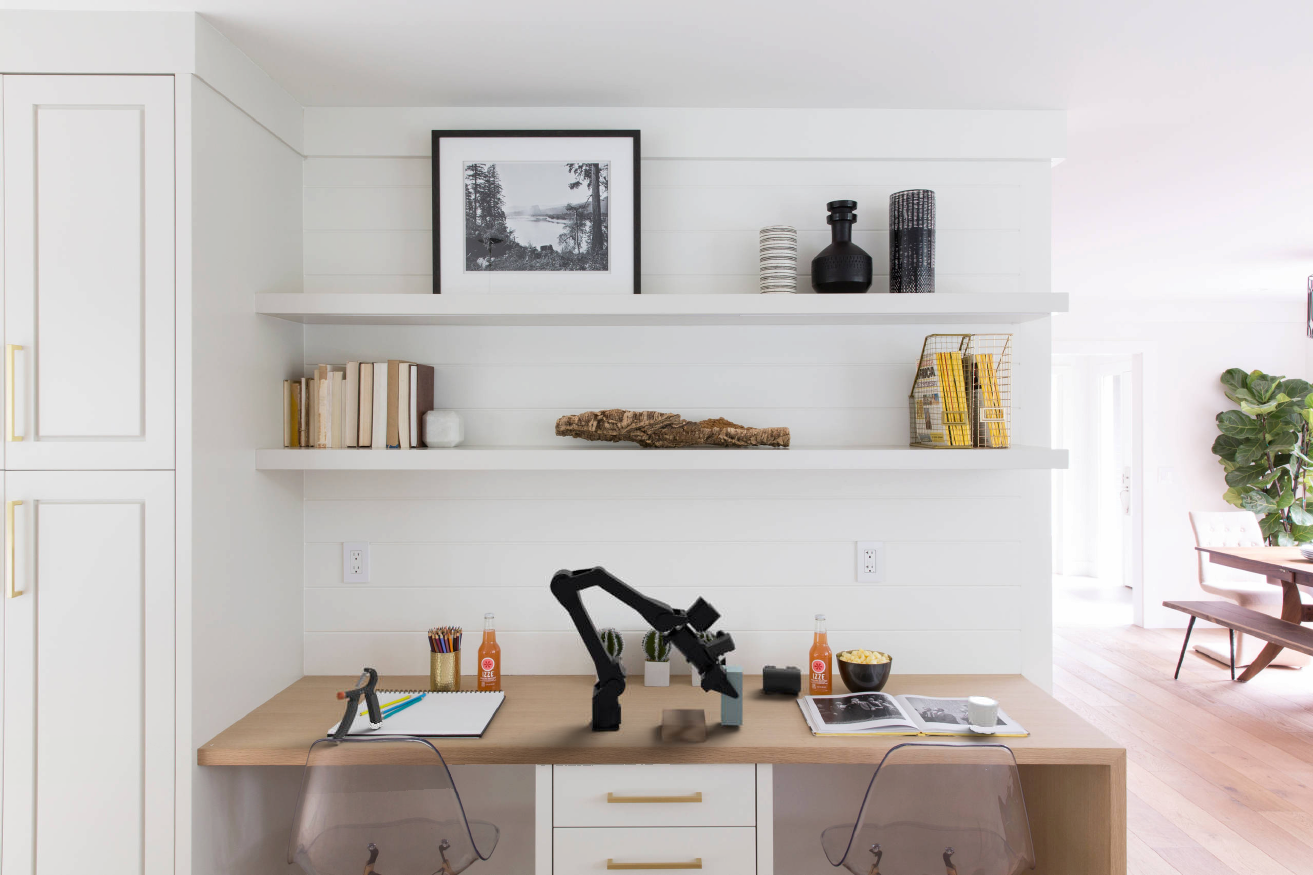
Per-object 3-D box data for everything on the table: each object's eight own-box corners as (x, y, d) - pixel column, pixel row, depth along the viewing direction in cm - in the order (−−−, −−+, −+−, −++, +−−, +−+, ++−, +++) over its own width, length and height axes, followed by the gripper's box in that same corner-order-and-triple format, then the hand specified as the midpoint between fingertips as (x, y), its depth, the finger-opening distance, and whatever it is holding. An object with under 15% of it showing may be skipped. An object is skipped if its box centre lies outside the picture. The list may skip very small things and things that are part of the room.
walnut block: (661, 742, 170) (661, 725, 170) (662, 725, 180) (662, 708, 180) (706, 743, 170) (706, 725, 170) (704, 725, 180) (704, 709, 180)
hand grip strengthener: (330, 744, 169) (330, 677, 168) (376, 726, 179) (376, 663, 179) (336, 747, 167) (336, 679, 167) (383, 728, 178) (383, 664, 178)
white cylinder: (999, 727, 178) (1000, 698, 178) (996, 737, 172) (996, 707, 172) (968, 722, 181) (968, 693, 181) (964, 731, 175) (964, 701, 175)
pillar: (721, 724, 177) (721, 671, 177) (720, 716, 182) (720, 665, 182) (742, 725, 177) (742, 672, 177) (741, 717, 182) (741, 665, 182)
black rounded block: (762, 696, 199) (762, 671, 199) (762, 687, 206) (762, 663, 206) (801, 698, 198) (801, 672, 198) (799, 689, 205) (799, 664, 205)
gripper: (715, 633, 170) (764, 683, 170) (714, 613, 189) (759, 658, 188) (680, 667, 171) (729, 716, 170) (683, 644, 190) (727, 689, 189)
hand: (737, 693), depth 179 cm, fingers closed on pillar, 5 cm apart
